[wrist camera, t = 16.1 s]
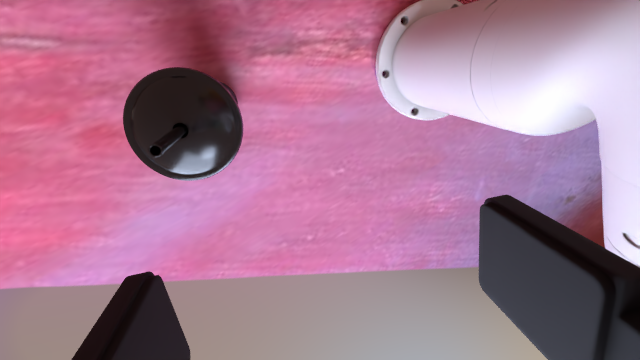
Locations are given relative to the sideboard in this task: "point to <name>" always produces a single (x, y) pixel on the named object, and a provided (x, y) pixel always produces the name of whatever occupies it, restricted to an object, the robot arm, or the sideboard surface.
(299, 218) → the sideboard surface
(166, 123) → the drinking cup
